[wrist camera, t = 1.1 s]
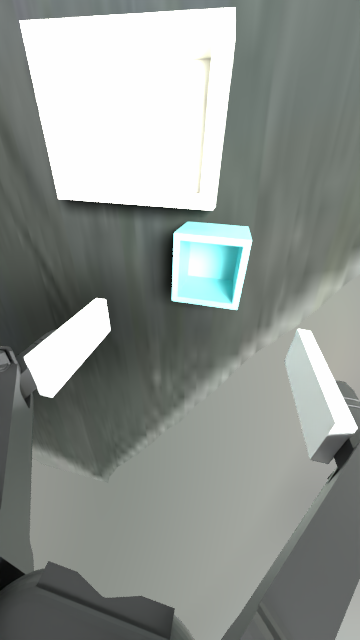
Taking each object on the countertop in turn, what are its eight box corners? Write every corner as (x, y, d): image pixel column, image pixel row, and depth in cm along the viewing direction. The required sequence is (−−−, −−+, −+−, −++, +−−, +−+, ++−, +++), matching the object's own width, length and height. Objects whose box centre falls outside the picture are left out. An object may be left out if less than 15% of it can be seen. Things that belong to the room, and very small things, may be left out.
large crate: (79, 196, 31) (58, 198, 27) (53, 46, 24) (19, 20, 20) (215, 206, 28) (212, 210, 24) (235, 39, 21) (235, 7, 17)
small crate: (184, 277, 34) (171, 300, 28) (187, 221, 30) (173, 232, 23) (236, 284, 33) (237, 309, 26) (248, 226, 29) (252, 240, 22)
